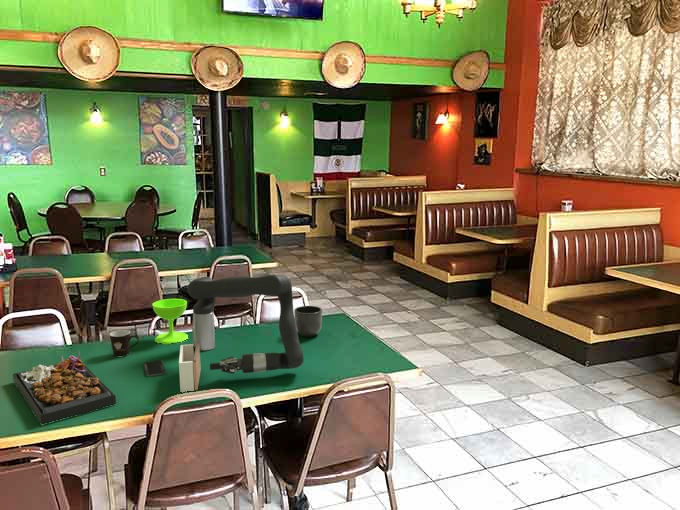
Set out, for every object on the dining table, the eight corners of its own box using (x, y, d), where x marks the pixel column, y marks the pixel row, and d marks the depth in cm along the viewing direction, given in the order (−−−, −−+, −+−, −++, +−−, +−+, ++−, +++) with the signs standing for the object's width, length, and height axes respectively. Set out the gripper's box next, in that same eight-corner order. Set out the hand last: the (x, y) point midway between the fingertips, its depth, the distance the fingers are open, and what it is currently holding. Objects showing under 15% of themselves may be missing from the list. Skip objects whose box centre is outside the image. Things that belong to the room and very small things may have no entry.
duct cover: (194, 390, 214) (193, 360, 212) (198, 370, 233) (196, 342, 230) (197, 389, 214) (196, 359, 212) (200, 370, 233) (199, 342, 231)
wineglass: (163, 332, 281) (161, 298, 277) (193, 334, 278) (192, 299, 275) (148, 343, 265) (146, 307, 262) (180, 345, 263) (178, 308, 259)
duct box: (180, 392, 212) (178, 363, 210) (182, 372, 232) (180, 345, 229) (194, 391, 214) (192, 362, 211) (194, 371, 233) (193, 344, 230)
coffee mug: (106, 356, 249) (105, 334, 247) (121, 349, 257) (119, 329, 255) (127, 360, 244) (125, 338, 243) (141, 353, 252) (139, 332, 250)
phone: (145, 375, 226) (143, 362, 240) (146, 378, 227) (143, 364, 240) (166, 372, 229) (162, 359, 243) (166, 375, 230) (162, 362, 243)
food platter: (13, 384, 221) (11, 359, 219) (79, 368, 236) (77, 345, 234) (41, 427, 187) (38, 399, 185) (116, 406, 203) (114, 379, 201)
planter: (294, 330, 285) (293, 305, 283) (321, 329, 287) (321, 305, 284) (294, 339, 272) (294, 314, 269) (323, 338, 273) (323, 313, 271)
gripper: (252, 348, 230) (209, 351, 226) (255, 360, 218) (209, 364, 214) (252, 365, 232) (210, 369, 228) (255, 378, 219) (210, 382, 215)
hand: (209, 366), depth 221 cm, fingers closed
